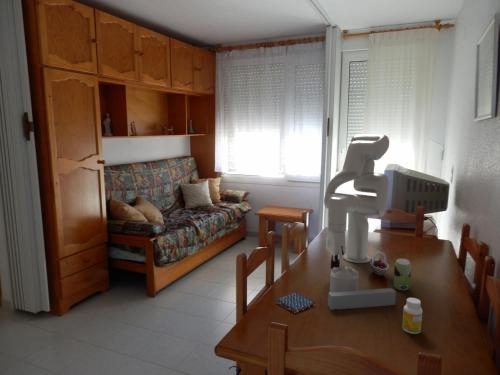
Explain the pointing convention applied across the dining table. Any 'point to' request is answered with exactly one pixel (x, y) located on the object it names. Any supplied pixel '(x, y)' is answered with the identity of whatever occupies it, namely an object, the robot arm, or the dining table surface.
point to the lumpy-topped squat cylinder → (344, 279)
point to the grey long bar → (361, 298)
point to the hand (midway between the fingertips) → (334, 269)
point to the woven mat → (295, 302)
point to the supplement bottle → (412, 316)
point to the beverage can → (402, 274)
